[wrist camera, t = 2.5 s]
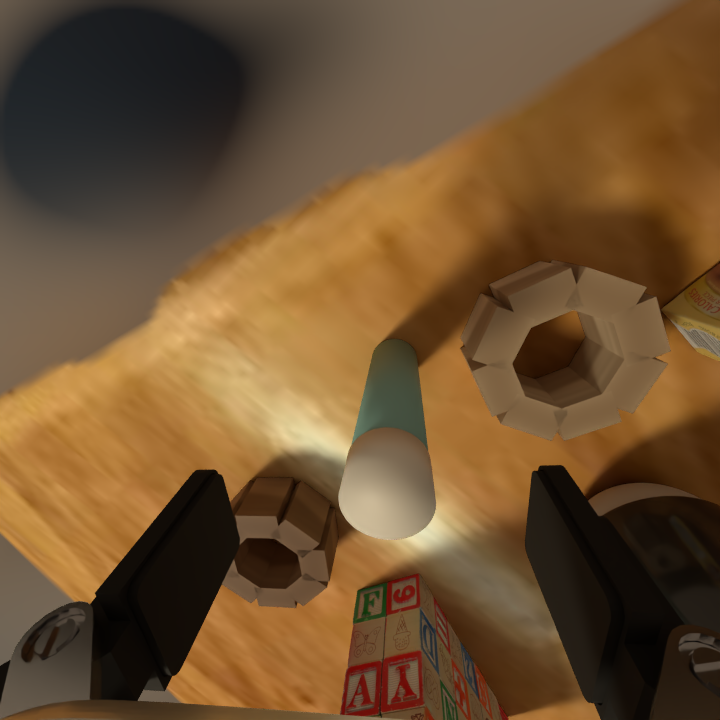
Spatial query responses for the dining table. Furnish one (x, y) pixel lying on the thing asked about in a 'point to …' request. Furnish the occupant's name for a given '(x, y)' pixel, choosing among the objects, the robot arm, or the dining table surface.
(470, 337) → the bead
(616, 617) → the robot arm
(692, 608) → the black tapered dome
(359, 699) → the stack of blocks
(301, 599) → the bead
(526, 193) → the dining table surface
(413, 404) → the teal cylinder white end
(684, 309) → the candy box
